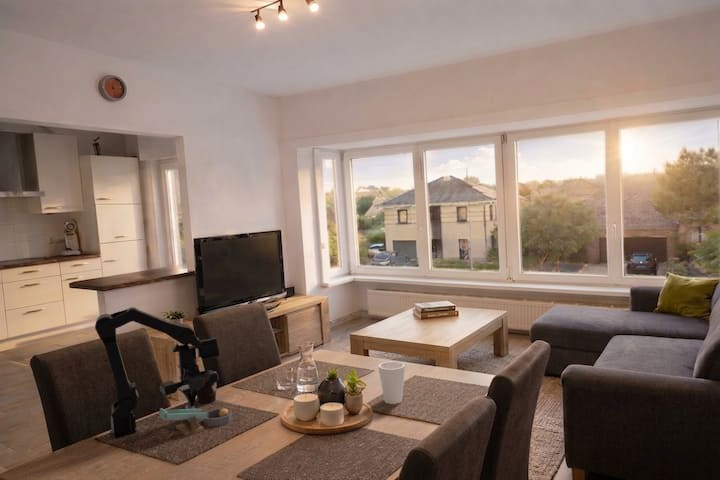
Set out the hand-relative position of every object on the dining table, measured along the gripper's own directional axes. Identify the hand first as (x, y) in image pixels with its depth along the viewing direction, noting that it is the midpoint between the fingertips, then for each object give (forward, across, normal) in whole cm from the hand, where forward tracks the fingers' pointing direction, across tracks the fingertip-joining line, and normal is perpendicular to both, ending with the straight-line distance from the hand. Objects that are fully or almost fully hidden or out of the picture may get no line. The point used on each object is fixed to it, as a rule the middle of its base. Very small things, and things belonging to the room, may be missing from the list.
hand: (191, 406), depth 183 cm
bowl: (+4, +6, -8) cm, 11 cm away
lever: (0, -6, -4) cm, 8 cm away
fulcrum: (+4, -8, -9) cm, 12 cm away
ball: (+2, +8, -8) cm, 12 cm away
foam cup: (+5, +59, -38) cm, 70 cm away
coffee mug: (+5, +12, +12) cm, 18 cm away
